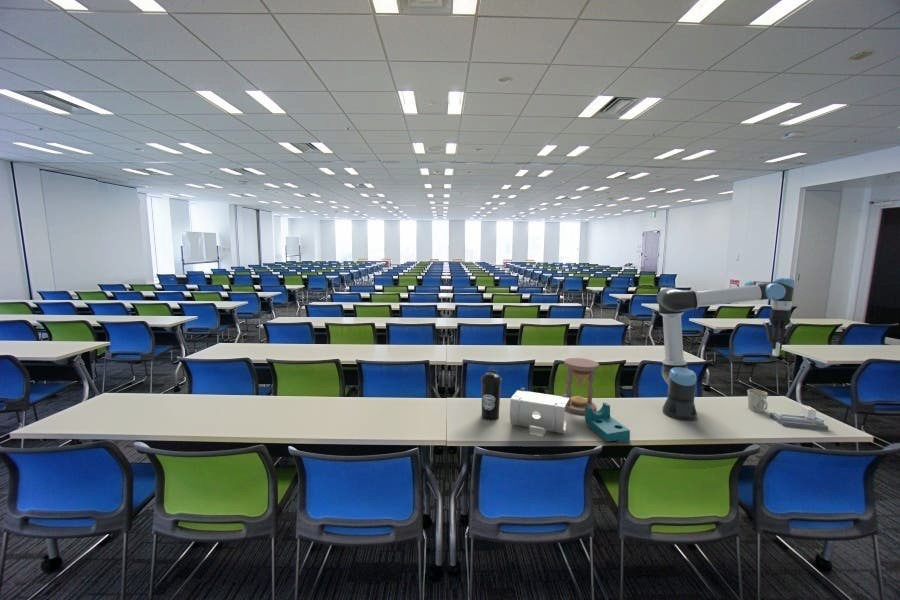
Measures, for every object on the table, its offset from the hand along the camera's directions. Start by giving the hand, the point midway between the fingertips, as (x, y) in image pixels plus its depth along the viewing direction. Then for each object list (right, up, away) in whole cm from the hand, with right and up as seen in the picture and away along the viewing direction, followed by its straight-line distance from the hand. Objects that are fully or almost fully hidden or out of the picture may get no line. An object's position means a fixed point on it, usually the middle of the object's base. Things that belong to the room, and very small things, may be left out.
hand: (775, 355), depth 188 cm
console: (+8, -33, -4) cm, 34 cm away
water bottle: (-144, -31, -2) cm, 148 cm away
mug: (0, -32, +11) cm, 33 cm away
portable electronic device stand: (-122, -32, -11) cm, 127 cm away
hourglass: (-96, -30, +11) cm, 101 cm away
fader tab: (+12, -31, -5) cm, 33 cm away
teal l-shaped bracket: (-93, -33, -17) cm, 100 cm away
